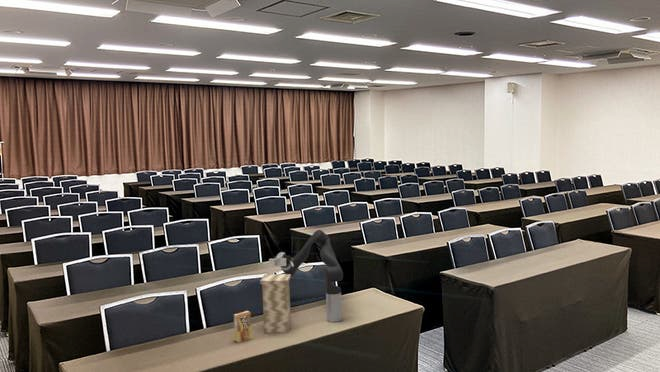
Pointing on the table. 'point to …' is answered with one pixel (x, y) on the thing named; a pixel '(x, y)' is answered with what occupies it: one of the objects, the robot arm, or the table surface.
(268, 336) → the table surface
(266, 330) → the pedestal
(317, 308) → the table surface
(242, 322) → the candy box
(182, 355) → the table surface
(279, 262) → the toggle bar
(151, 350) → the table surface
